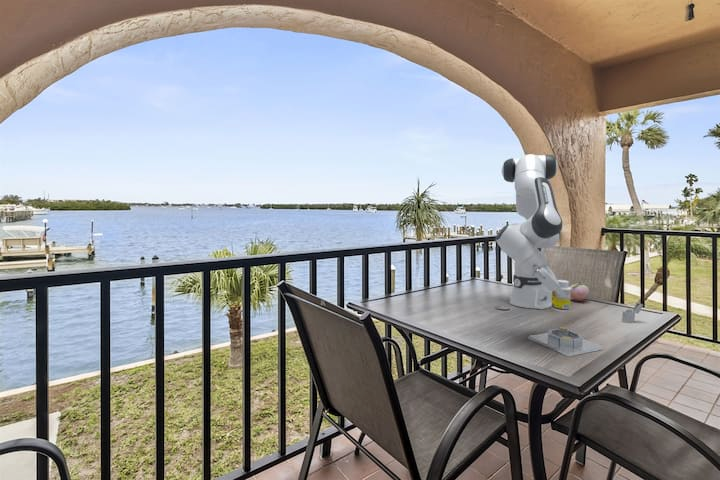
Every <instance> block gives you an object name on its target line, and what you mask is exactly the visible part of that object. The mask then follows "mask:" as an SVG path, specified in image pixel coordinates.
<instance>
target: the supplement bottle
mask: <svg viewBox="0 0 720 480" xmlns="http://www.w3.org/2000/svg"><path fill="white" fill-rule="evenodd" d="M557 281H558V283H559V285H560V288H561V289H562V290H563V291H564V292H565V293H566V294H567V295H566V296H565V297H564V298H562V297H561V296H560V295H559V294H558V293H556V292H555V291H552V307H551V309H552V310H554V311H557V312H561V313H562V312H563V313H566V312H569V311H570V310H571V309H570V308H571V298H572V297H571V288H570V286H569V285H570V282H569V281H568V280H566V279H565V280H564V279H557Z"/></svg>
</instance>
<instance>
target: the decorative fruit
mask: <svg viewBox="0 0 720 480" xmlns="http://www.w3.org/2000/svg"><path fill="white" fill-rule="evenodd" d="M569 287H570V288H571V298H572V299H574V300H575V301H576V302H581V301H583V300H585V299H586V298H588V297H589V294H590V289H589V287H588V285H587V284H586V283H584V282H580V281H578V283H574V284H572V285H570V286H569Z"/></svg>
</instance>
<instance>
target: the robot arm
mask: <svg viewBox="0 0 720 480" xmlns="http://www.w3.org/2000/svg"><path fill="white" fill-rule="evenodd" d="M558 169H559V164H558V160H557V158H556V156H554V155H553V154H544V155H543V154H541V155H540V154H537V155H536V154H531V153H530V154H526V155H523V156H521V157H516V158H513V157H511V158H508V159H507V160H505V161H504V162H503V165H502V167H501V176H502V178H503V180H504V181H506V182H508V183H514V189H515V210H516V212H517V214H518V215H519V216H521V217H522V218H524V219H525V221H524V222H522V223H512V224H510V223H509V224H506V225H504V226H503V227H502V228H501V229H500V231H498V232H497V234H496V235H495V241H496V243H497V245H498V246H499V247H500V248H501V250H502V251H503V252H504V253H505V255H506V256H507V257H509V258H511V259H512V260H514V274H513V277H512V282H513V285H512V288H511V296H510V298H509V304H510V305H513V306H516V307H521V308H526V309H535V310H544V309H548V308H552V291H555V292H556V293H558V294H559V295H560V296H561V297H562V298H564V297H565V296H566V295H567V294H566V293H565V292H564V291H563V290H562V289H561V288H560V285H559V283H558V281H557V280H558V279H557V276H556V274H555V273H554V272H553V271H552V269H551V268H550V267H549V264H548V263H547V261H548V258H547V257H546V255H544V253H543V252H542V251H540V250H539V249H549V248H554V247H556V246H557V244H558V243H559V241H560V233H561V231H562V230H563V219H562V216H561V215H560V213H559V210H558V208H557V204H556V199H555V195H554V190H553V188H552V185H551V183H550V181H549V180H551V179H553V178H554V177H555V176H556V174H557V172H558Z"/></svg>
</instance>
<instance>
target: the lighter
mask: <svg viewBox="0 0 720 480" xmlns="http://www.w3.org/2000/svg"><path fill="white" fill-rule="evenodd" d="M643 307H644V304H643V303H641V302H636V303H635V305H634V307H633V309H631V308H626V309H625V310H622V314H621V316H622V317H621V322H622V323H625V324H626V323H628V324H629V323H630V324H631V323H635V320H636V319H635V318H636V314H640V312H641V310H642V308H643Z"/></svg>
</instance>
